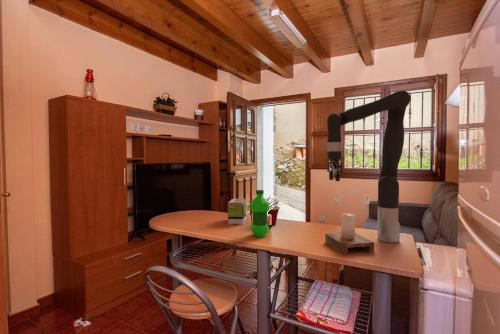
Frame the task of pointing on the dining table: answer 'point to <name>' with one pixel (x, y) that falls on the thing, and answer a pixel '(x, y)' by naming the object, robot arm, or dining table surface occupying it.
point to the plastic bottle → (259, 214)
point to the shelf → (348, 242)
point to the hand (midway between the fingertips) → (334, 180)
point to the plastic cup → (274, 214)
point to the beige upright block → (348, 226)
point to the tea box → (237, 211)
